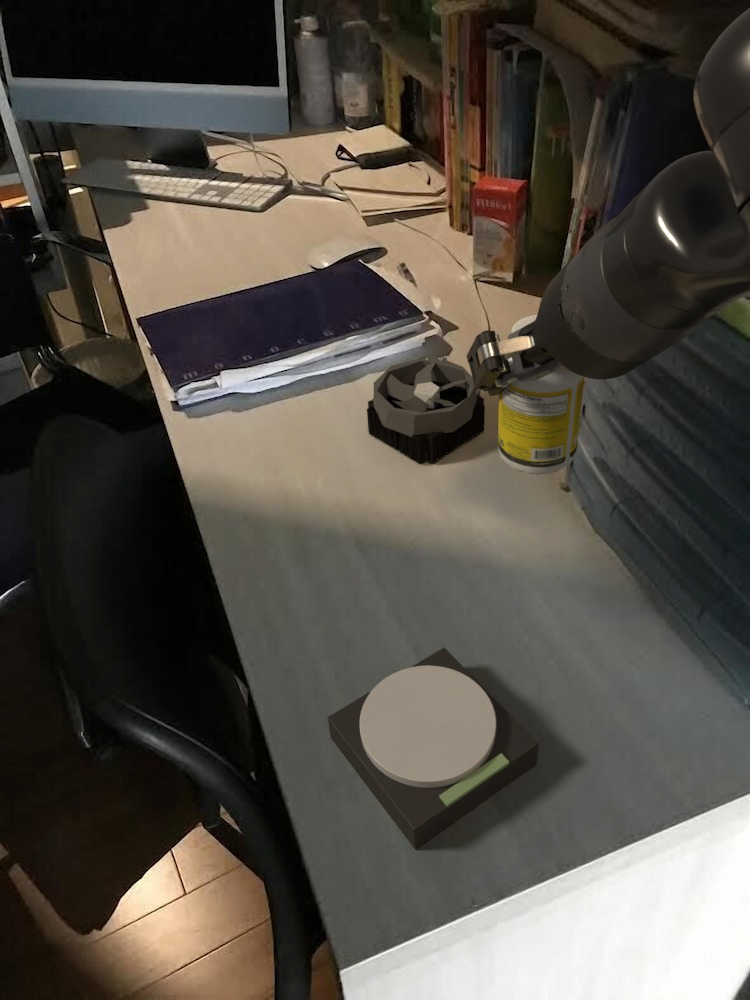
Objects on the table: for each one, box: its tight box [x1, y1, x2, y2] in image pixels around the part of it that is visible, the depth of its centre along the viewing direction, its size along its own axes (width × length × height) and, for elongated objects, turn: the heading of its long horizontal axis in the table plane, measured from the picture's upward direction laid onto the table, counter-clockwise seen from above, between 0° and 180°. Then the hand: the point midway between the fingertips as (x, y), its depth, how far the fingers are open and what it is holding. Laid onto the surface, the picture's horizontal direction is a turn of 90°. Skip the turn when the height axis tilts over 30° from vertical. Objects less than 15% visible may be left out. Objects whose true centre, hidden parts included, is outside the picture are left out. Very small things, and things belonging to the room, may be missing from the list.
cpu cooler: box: [366, 355, 486, 465], centre depth 83 cm, size 10×6×10 cm
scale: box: [326, 647, 540, 851], centre depth 56 cm, size 10×10×3 cm
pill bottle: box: [497, 314, 586, 475], centre depth 63 cm, size 6×6×11 cm
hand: (531, 373), depth 64 cm, fingers closed on pill bottle, 6 cm apart
